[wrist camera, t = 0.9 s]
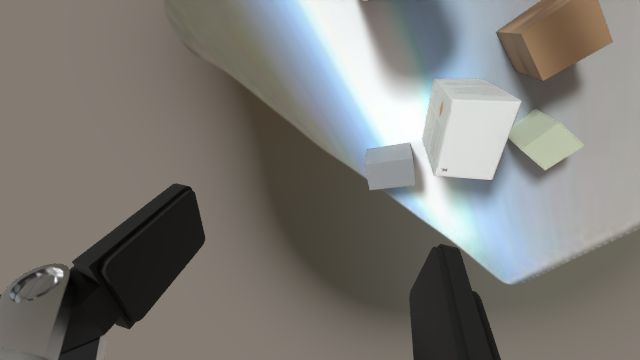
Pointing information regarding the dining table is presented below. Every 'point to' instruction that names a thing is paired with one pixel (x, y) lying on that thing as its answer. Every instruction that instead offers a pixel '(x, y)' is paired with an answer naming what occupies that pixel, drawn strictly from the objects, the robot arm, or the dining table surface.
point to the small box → (467, 127)
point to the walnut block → (554, 36)
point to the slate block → (390, 166)
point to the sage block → (543, 139)
